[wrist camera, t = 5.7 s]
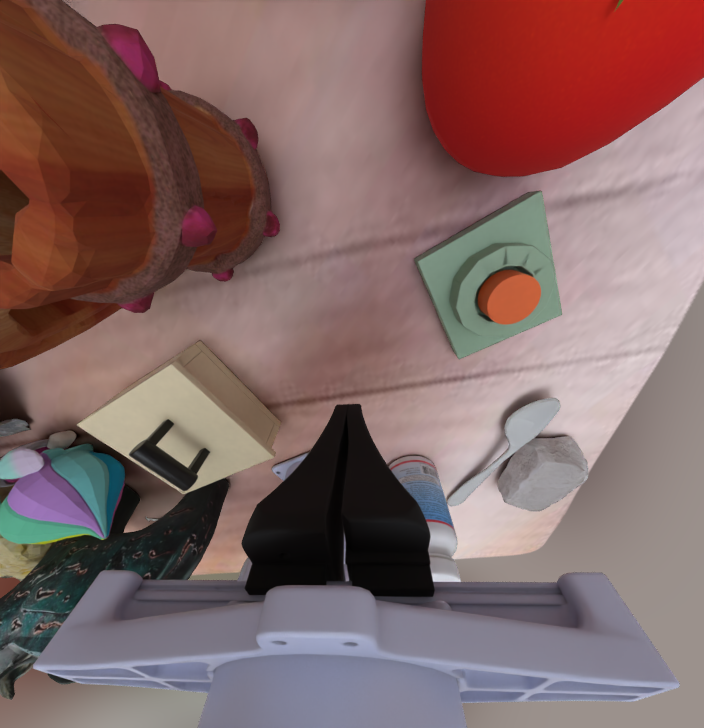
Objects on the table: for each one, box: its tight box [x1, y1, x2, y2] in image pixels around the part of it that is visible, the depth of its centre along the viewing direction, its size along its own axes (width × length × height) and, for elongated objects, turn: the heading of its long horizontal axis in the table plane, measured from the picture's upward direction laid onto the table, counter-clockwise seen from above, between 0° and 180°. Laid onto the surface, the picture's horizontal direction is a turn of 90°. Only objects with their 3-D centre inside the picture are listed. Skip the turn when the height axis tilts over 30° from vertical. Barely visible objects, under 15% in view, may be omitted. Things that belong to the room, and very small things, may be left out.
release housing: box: [414, 191, 562, 359], centre depth 18 cm, size 9×8×3 cm
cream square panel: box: [77, 361, 276, 494], centre depth 21 cm, size 12×12×4 cm
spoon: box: [447, 398, 560, 506], centre depth 28 cm, size 4×21×2 cm, turn 166°
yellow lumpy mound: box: [0, 485, 57, 579], centre depth 32 cm, size 17×11×15 cm
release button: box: [478, 270, 541, 325], centre depth 16 cm, size 3×3×2 cm
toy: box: [0, 431, 125, 544], centre depth 27 cm, size 10×9×15 cm
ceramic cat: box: [0, 478, 229, 700], centre depth 25 cm, size 20×6×20 cm, turn 104°
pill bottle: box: [389, 456, 461, 582], centre depth 26 cm, size 6×6×11 cm
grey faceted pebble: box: [497, 436, 588, 511], centre depth 28 cm, size 10×6×6 cm, turn 1°
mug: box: [0, 0, 280, 369], centre depth 11 cm, size 15×8×15 cm, turn 128°
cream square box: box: [86, 340, 281, 448], centre depth 25 cm, size 12×12×4 cm
